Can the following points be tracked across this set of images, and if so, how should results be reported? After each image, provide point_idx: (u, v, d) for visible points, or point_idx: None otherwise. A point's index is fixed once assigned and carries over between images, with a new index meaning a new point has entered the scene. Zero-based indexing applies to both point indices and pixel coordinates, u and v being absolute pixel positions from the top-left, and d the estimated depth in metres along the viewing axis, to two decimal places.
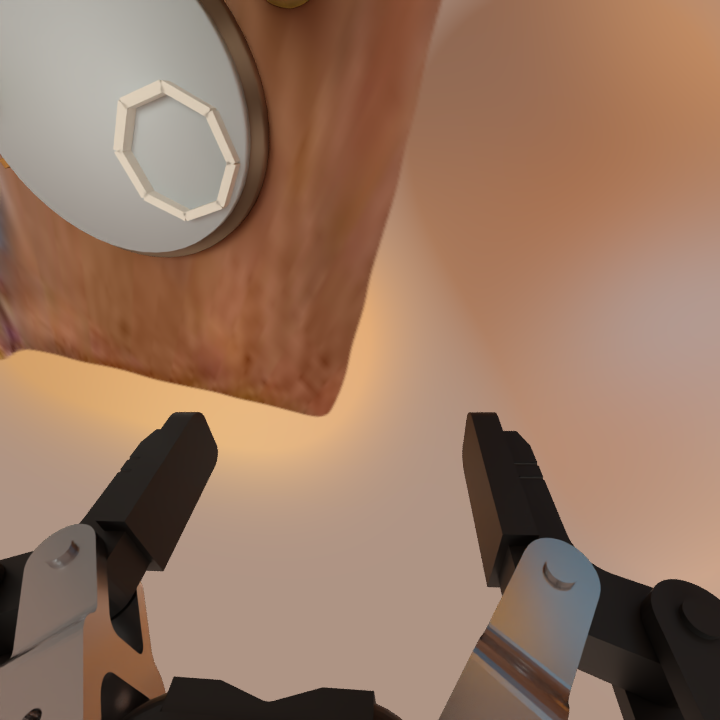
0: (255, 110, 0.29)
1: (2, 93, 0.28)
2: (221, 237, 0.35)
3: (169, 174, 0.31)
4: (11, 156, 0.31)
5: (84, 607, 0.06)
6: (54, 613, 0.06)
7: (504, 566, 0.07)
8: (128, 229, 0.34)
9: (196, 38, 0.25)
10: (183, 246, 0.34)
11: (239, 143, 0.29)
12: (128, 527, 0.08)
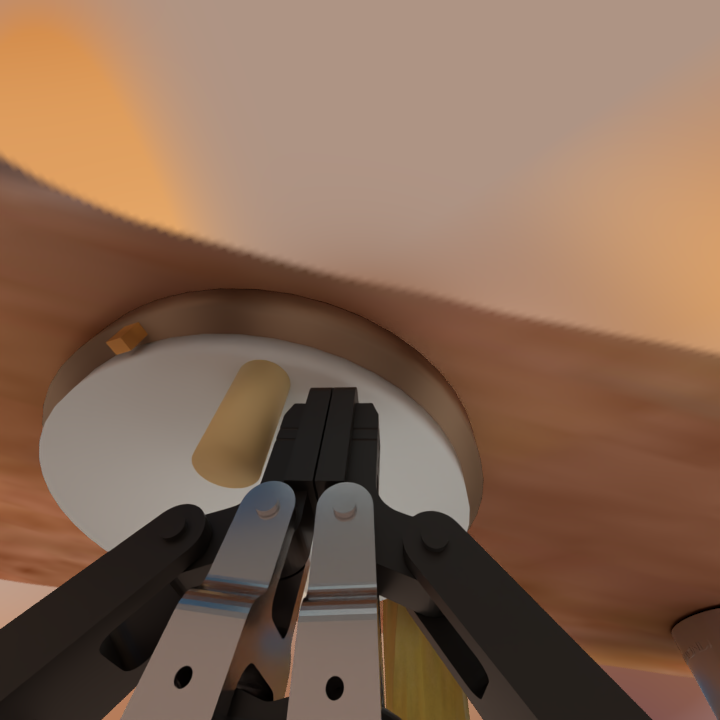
0: None
1: None
2: None
3: None
4: (136, 382, 0.14)
5: (259, 579, 0.06)
6: (241, 564, 0.07)
7: None
8: (91, 502, 0.19)
9: None
10: (106, 549, 0.22)
11: None
12: (312, 486, 0.08)
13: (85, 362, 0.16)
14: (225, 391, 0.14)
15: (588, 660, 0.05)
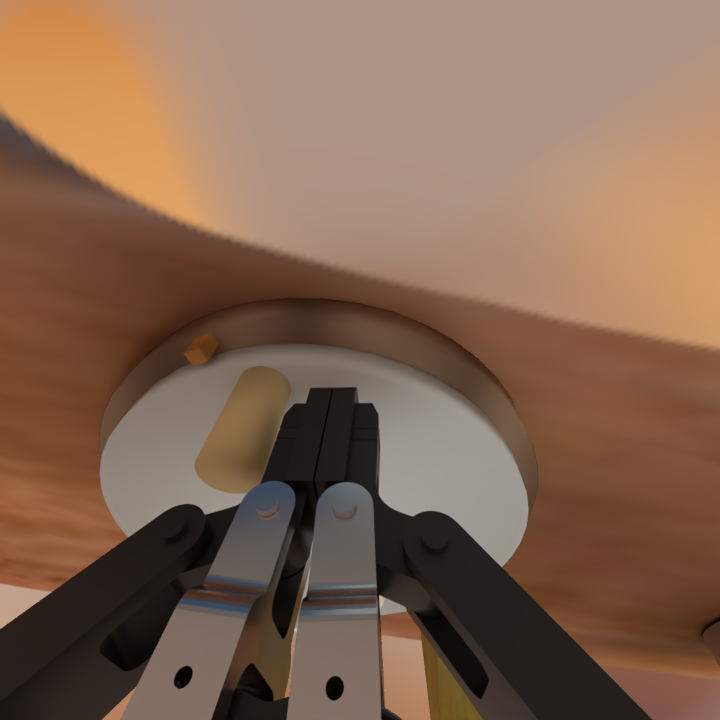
0: None
1: None
2: None
3: None
4: (156, 416, 0.15)
5: (259, 579, 0.06)
6: (241, 565, 0.07)
7: None
8: None
9: None
10: None
11: None
12: (312, 487, 0.08)
13: (152, 372, 0.16)
14: None
15: (588, 659, 0.05)
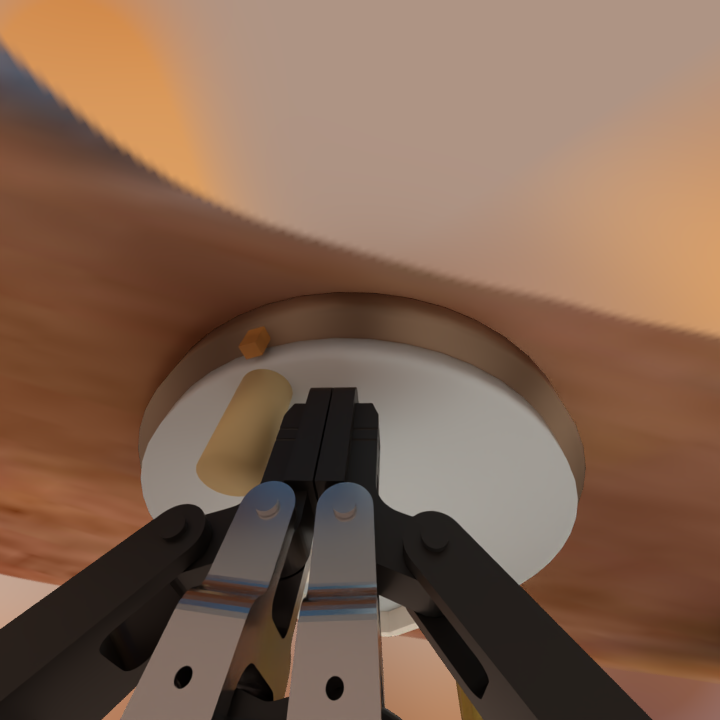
0: None
1: None
2: None
3: None
4: (177, 435, 0.16)
5: (259, 579, 0.06)
6: (241, 564, 0.07)
7: None
8: None
9: None
10: None
11: None
12: (312, 487, 0.08)
13: (199, 366, 0.15)
14: None
15: (588, 660, 0.05)
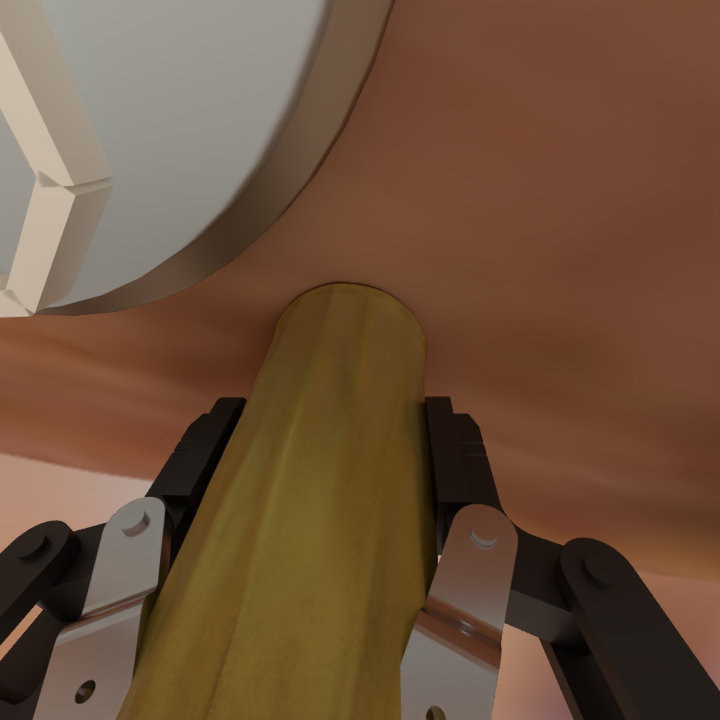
0: None
1: None
2: None
3: None
4: None
5: (146, 583, 0.07)
6: (120, 582, 0.07)
7: (444, 533, 0.08)
8: None
9: (227, 17, 0.06)
10: None
11: (102, 276, 0.09)
12: (192, 501, 0.08)
13: None
14: None
15: None
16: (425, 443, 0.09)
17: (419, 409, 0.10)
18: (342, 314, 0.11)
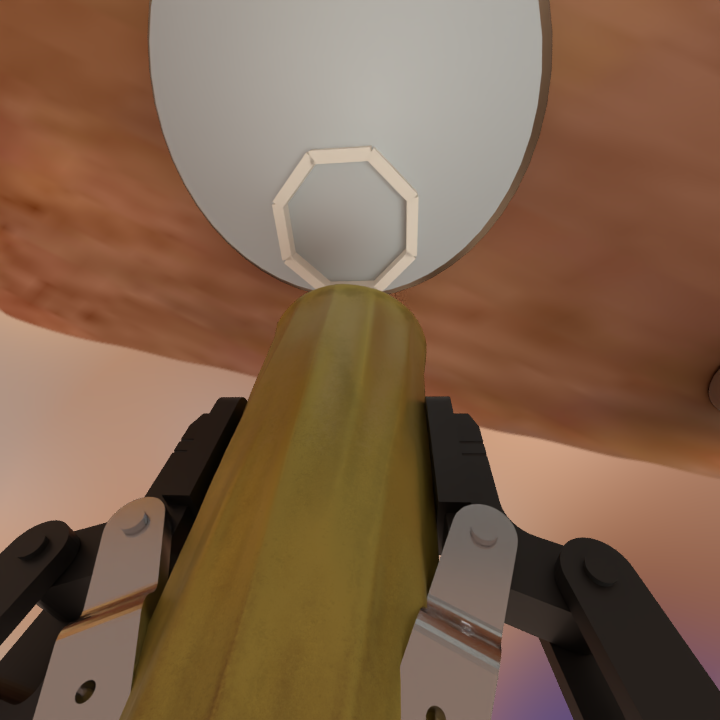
0: None
1: None
2: None
3: (319, 217, 0.24)
4: None
5: (146, 583, 0.07)
6: (121, 582, 0.07)
7: (444, 533, 0.08)
8: (213, 179, 0.23)
9: (469, 212, 0.23)
10: (245, 255, 0.26)
11: (395, 282, 0.26)
12: (192, 501, 0.08)
13: None
14: None
15: None
16: (426, 444, 0.10)
17: (419, 409, 0.10)
18: (343, 315, 0.11)
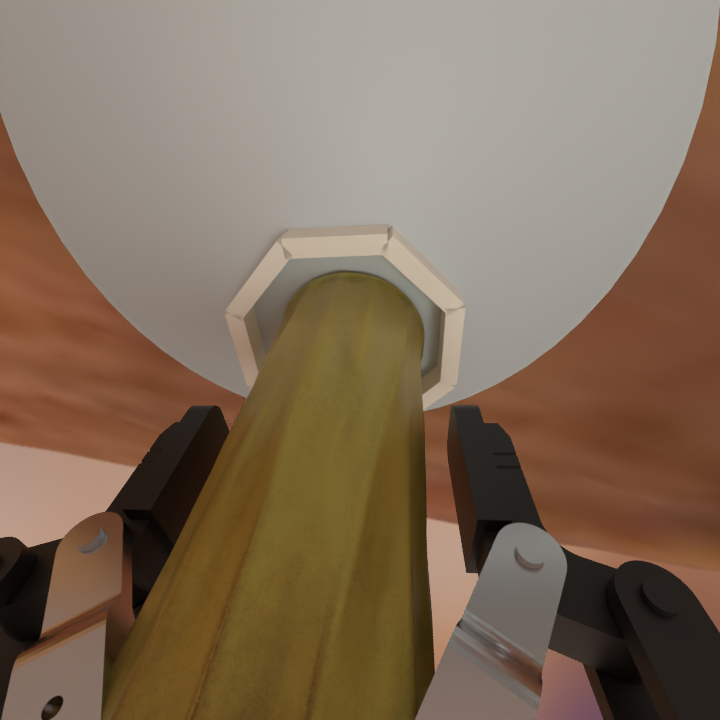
0: None
1: None
2: None
3: None
4: None
5: (108, 596, 0.06)
6: (80, 599, 0.06)
7: (480, 551, 0.08)
8: (130, 269, 0.15)
9: (541, 320, 0.15)
10: (193, 369, 0.17)
11: None
12: (153, 515, 0.08)
13: None
14: None
15: None
16: (419, 416, 0.10)
17: (415, 387, 0.11)
18: (346, 299, 0.12)
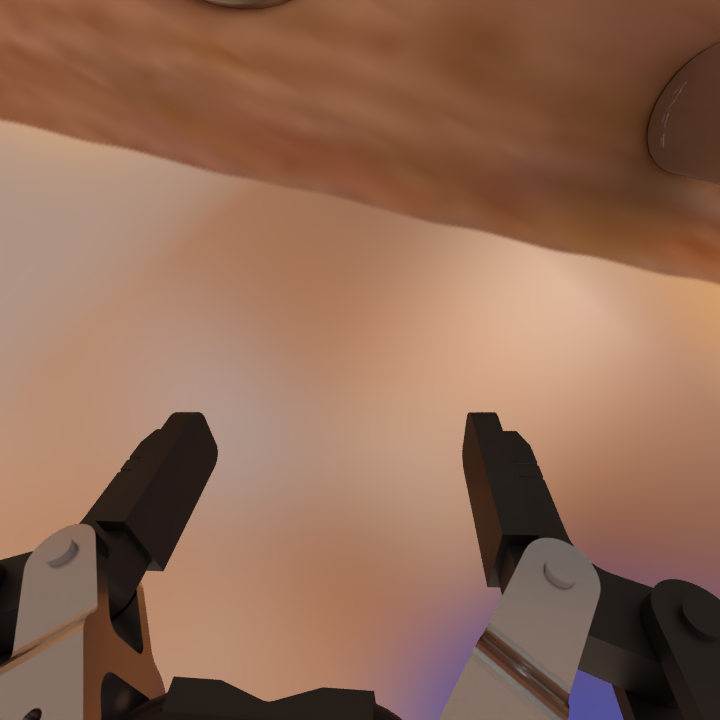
0: None
1: None
2: None
3: None
4: None
5: (84, 607, 0.06)
6: (54, 613, 0.06)
7: (504, 566, 0.07)
8: None
9: None
10: None
11: None
12: (128, 527, 0.08)
13: None
14: None
15: None
16: None
17: None
18: None
